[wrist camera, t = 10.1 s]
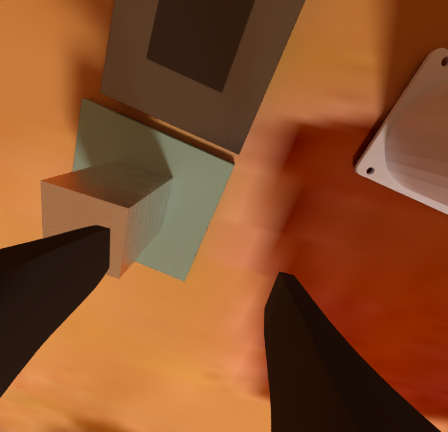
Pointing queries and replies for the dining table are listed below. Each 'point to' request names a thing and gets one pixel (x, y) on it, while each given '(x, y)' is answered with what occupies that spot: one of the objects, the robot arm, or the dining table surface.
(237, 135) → the grey flat rectangular board
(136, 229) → the steel block
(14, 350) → the robot arm
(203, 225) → the mat
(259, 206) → the dining table surface
